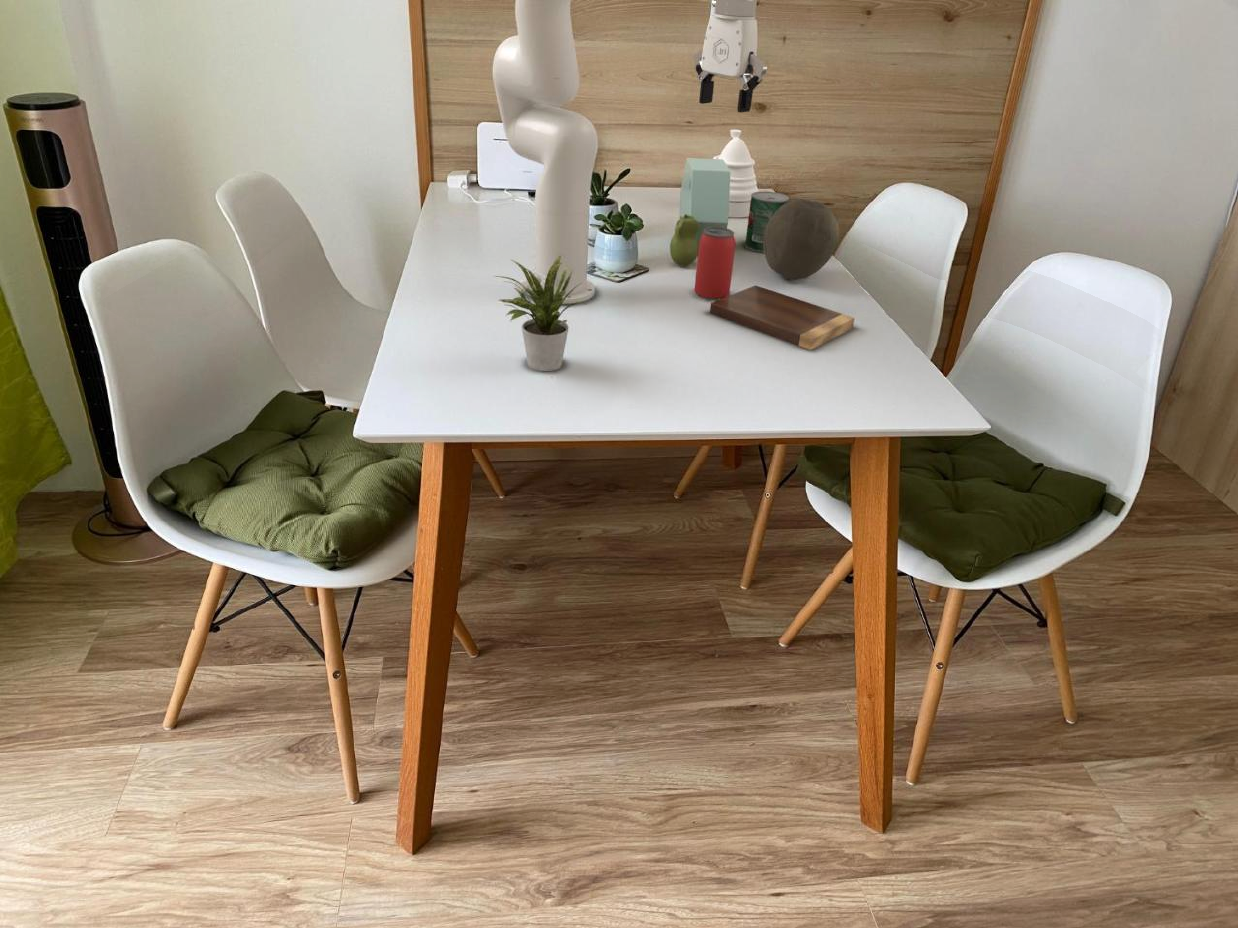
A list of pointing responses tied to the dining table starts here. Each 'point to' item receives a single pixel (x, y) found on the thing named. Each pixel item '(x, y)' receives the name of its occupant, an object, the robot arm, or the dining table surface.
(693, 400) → the dining table surface
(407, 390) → the dining table surface
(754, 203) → the canned tomato
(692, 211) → the pale green tall block
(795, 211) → the brown coconut
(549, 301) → the house plant
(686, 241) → the pear
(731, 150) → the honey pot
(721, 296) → the beer can
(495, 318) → the dining table surface
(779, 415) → the dining table surface
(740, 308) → the cutting board
